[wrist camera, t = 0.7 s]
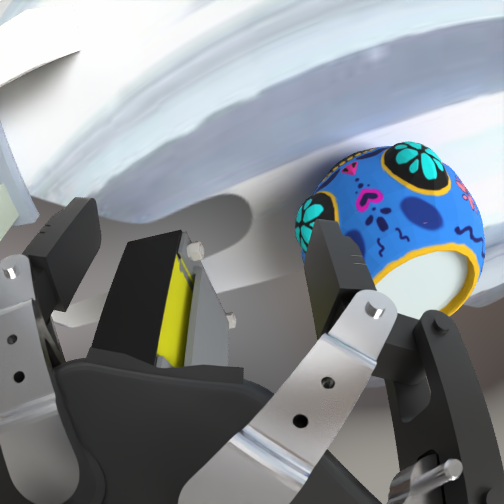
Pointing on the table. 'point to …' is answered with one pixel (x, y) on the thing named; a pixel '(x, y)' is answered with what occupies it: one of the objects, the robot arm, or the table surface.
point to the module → (36, 40)
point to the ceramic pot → (404, 225)
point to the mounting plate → (13, 192)
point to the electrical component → (164, 306)
